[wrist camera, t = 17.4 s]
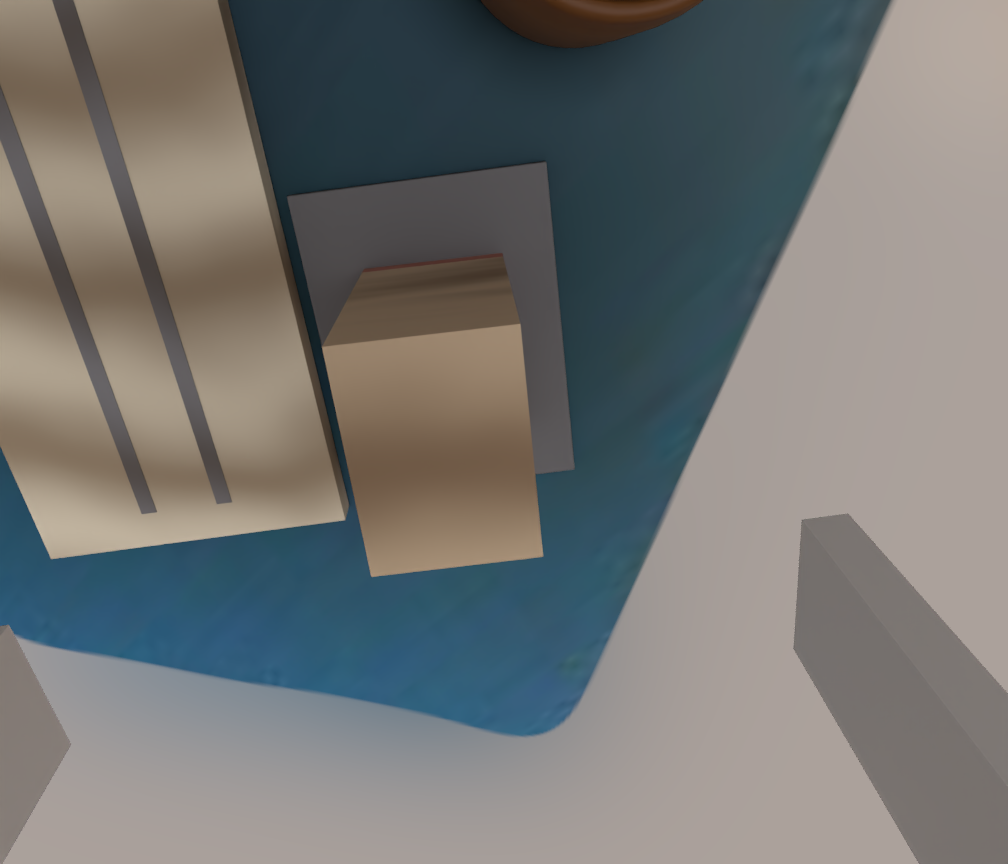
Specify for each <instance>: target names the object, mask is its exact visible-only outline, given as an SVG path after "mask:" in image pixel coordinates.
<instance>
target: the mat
mask: <svg viewBox="0 0 1008 864" xmlns="http://www.w3.org/2000/svg"><path fill="white" fill-rule="evenodd" d="M287 200H288V204H289V208H290V212H291V217H292V221H293V225H294V229H295V234H296V238H297V242H298V246H299V251H300V255H301V259H302V264H303V268H304V272H305V276H306V281H307V285H308V289H309V293H310V298H311V302H312V306H313V310H314V315H315V319H316V323H317V328H318V332H319V336H320V340H321V345H322V346H323V344H324V342H325V340H326V338H327V336H328V335H329V333H330V331H331V329H332V327H333V325H334V324H335V322H336V320H337V318H338V316H339V314H340V312H341V311H342V309H343V307H344V305H345V303H346V301H347V299H348V298H349V296H350V294H351V292H352V290H353V288H354V287H355V285H356V283H357V281H358V279H359V277H360V275H361V274H362V272H363V270H364V269H367V268H376V267H385V266H394V265H402V264H411V263H420V262H428V261H437V260H446V259H454V258H463V257H472V256H480V255H489V254H498V253H502V254H503V258H504V262H505V266H506V270H507V273H508V277H509V281H510V285H511V289H512V293H513V297H514V301H515V305H516V308H517V312H518V316H519V320H520V324H521V335H522V345H523V355H524V365H525V376H526V386H527V396H528V406H529V417H530V427H531V437H532V447H533V458H534V468H535V474H542V473H550V472H558V471H565V470H573V469H575V468H574V457H573V446H572V435H571V424H570V413H569V403H568V392H567V381H566V370H565V359H564V348H563V337H562V327H561V316H560V305H559V294H558V283H557V272H556V262H555V251H554V240H553V229H552V218H551V207H550V196H549V186H548V175H547V164H546V161H542V162H534V163H527V164H519V165H512V166H504V167H497V168H489V169H482V170H474V171H467V172H459V173H452V174H444V175H437V176H429V177H422V178H414V179H407V180H399V181H392V182H384V183H377V184H369V185H362V186H354V187H347V188H339V189H332V190H324V191H317V192H310V193H302V194H295V195H289V196H287Z"/></svg>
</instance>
